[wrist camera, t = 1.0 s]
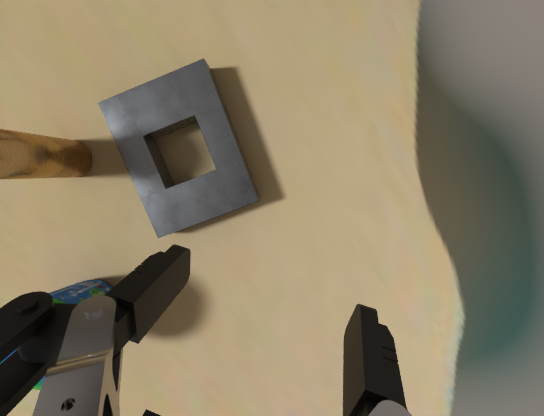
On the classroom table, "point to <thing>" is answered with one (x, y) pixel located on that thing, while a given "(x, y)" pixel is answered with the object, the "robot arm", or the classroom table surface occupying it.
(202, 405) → the classroom table surface
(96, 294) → the snack cup
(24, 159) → the brass flanged peg
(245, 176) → the plate
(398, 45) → the classroom table surface
